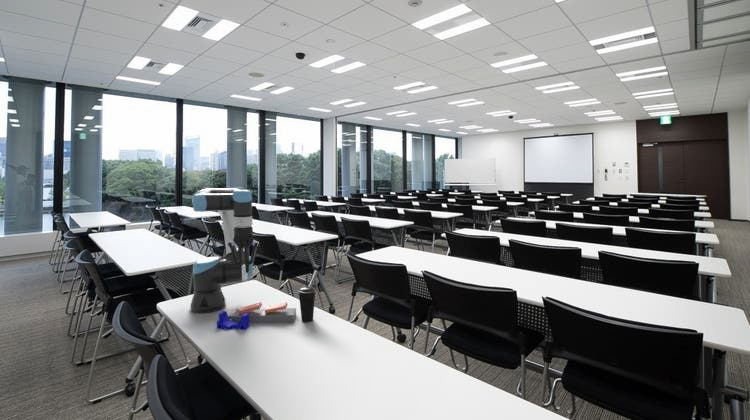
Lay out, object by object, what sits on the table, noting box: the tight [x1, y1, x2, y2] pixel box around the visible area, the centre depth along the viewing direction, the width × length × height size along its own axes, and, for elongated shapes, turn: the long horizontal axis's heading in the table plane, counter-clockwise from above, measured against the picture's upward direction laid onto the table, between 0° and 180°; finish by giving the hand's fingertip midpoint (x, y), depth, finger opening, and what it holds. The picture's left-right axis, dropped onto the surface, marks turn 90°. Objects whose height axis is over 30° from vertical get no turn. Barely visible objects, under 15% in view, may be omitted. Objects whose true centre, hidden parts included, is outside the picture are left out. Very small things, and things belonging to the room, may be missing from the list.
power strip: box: [227, 307, 297, 324], centre depth 157 cm, size 31×8×3 cm, turn 94°
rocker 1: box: [238, 301, 263, 314], centre depth 156 cm, size 9×4×2 cm, turn 92°
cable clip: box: [216, 310, 250, 331], centre depth 149 cm, size 12×4×6 cm, turn 77°
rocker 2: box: [264, 301, 288, 313], centre depth 157 cm, size 9×4×2 cm, turn 93°
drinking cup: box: [297, 275, 317, 323], centre depth 156 cm, size 8×8×20 cm
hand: (244, 279), depth 156 cm, fingers closed
